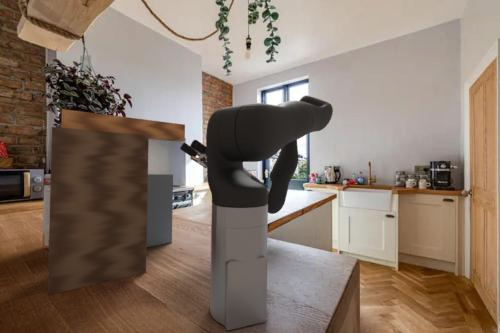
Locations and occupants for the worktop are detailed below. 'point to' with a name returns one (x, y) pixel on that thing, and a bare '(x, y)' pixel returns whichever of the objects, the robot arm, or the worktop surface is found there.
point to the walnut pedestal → (96, 207)
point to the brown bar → (123, 125)
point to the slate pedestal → (159, 209)
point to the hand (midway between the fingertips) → (186, 144)
